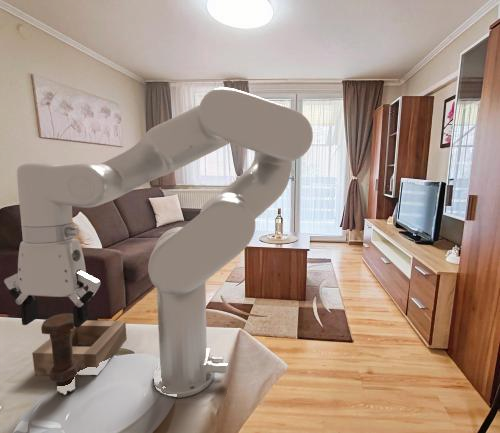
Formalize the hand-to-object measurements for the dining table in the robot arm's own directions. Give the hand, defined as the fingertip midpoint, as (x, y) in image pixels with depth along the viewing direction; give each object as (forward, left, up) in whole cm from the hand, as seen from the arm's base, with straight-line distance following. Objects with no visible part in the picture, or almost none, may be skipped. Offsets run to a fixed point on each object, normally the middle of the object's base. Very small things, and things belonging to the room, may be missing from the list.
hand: (55, 322), depth 54 cm
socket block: (+2, -11, -14) cm, 18 cm away
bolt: (-1, 0, -15) cm, 15 cm away
